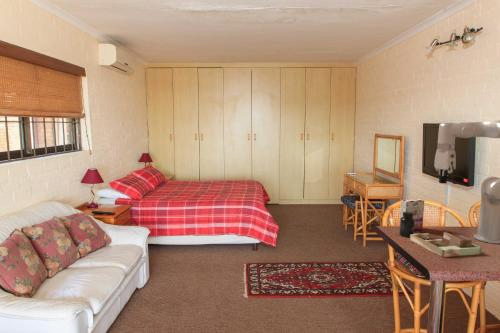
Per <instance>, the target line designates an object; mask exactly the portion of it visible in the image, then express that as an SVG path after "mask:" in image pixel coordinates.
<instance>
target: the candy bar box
mask: <svg viewBox="0 0 500 333" xmlns="http://www.w3.org/2000/svg"><path fill="white" fill-rule="evenodd" d="M400 202H401V203H400V219H401V217H403V212H412V213H413V218H414V220H415V225H414V231H419V230H421V231H422V230H423V226H424V225H423V224H424V209H425V208H424V207H425V200H424V199H423V198H422V199H421V198H406V199H405V198H403V199H401V201H400Z"/></svg>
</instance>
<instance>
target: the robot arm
mask: <svg viewBox="0 0 500 333" xmlns="http://www.w3.org/2000/svg"><path fill="white" fill-rule="evenodd" d="M438 126H439V127H438V134H437V147H436V151H435V155H434V162H433V163H434V168H435V169H434V170H435V171H436V172H438V176H439V177H438V183H439V184H447V181H448V180H447V179H448V176H449V174H453V171H455V170H456V164H457V163H456V162H457V161H456V160H457V159H456V158H457V157H456V156H457V155H456V150H455V148H456V147H455V143H456V142H455V141H456V138H462V139H468V138H489V139H500V120H490V121H475V122H472V121H471V122H469V121H468V122H467V121H466V122H459V123H454V122H441V123H440V124H439V125H438ZM473 238H474V239H476V240H478V241H480V242H483V243H489V244H497V245H498V244H500V177H497V176H490V177H487V178H485V179H484V180H483V182H482V183H481V187H480V208H479V216H478V228H477V233H474V234H473Z"/></svg>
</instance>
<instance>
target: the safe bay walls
mask: <svg viewBox="0 0 500 333" xmlns="http://www.w3.org/2000/svg"><path fill="white" fill-rule="evenodd" d="M439 248H441V249H456V248H459V247H457V246H450V245H449V246H442V247H439ZM460 249H462V250H461V256H462V257H463V256H473V255H481V254H482V250H483V249H482V246H479V245H477V244H474V243H472V244H471V247H470V248H460ZM461 256H460V257H461Z"/></svg>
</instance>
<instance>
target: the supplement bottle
mask: <svg viewBox="0 0 500 333" xmlns="http://www.w3.org/2000/svg"><path fill="white" fill-rule="evenodd" d="M400 218H401V219H400V221H399V232H398V233H399V235H400V236H402V237H404V238H410V234H415V230H414V225H415V220H414V218H413V213H412V212H403V217H401V216H400Z"/></svg>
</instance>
